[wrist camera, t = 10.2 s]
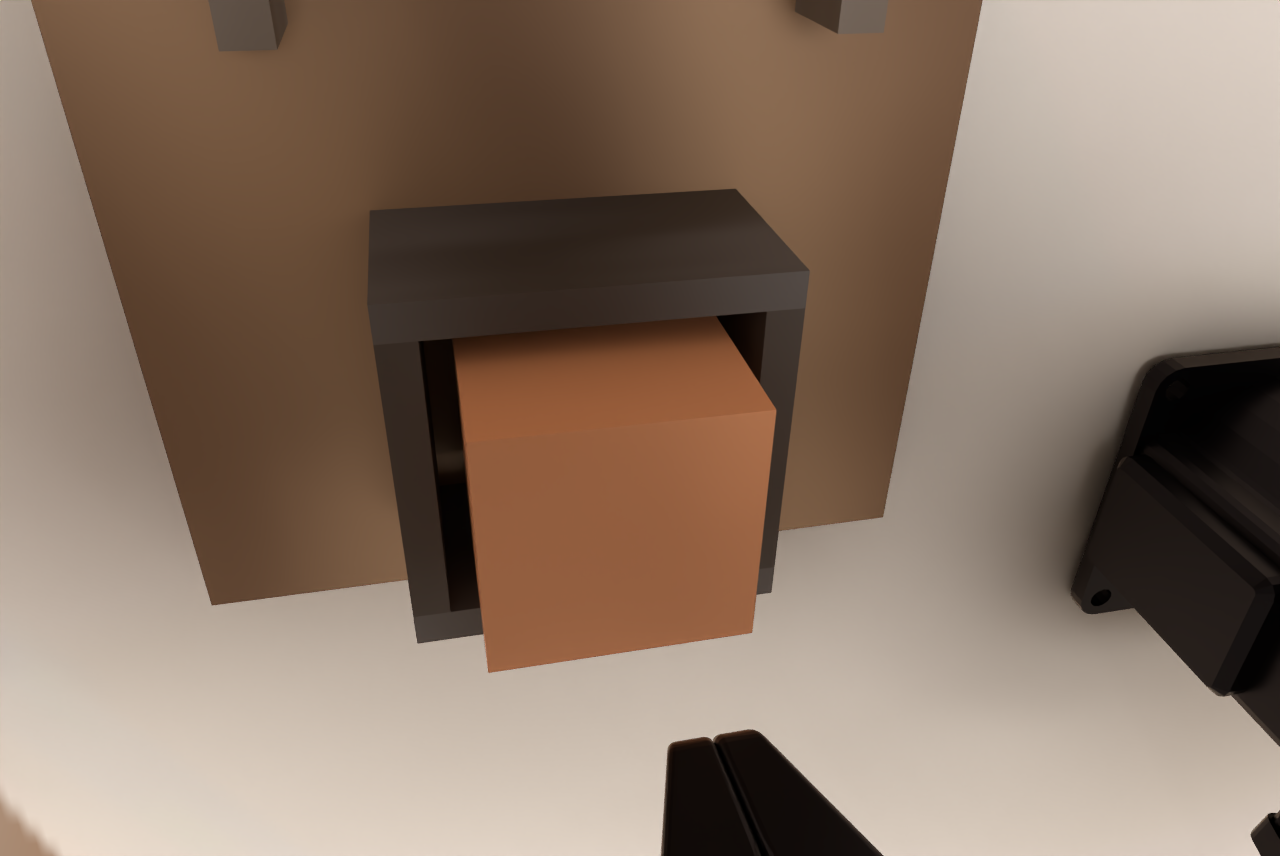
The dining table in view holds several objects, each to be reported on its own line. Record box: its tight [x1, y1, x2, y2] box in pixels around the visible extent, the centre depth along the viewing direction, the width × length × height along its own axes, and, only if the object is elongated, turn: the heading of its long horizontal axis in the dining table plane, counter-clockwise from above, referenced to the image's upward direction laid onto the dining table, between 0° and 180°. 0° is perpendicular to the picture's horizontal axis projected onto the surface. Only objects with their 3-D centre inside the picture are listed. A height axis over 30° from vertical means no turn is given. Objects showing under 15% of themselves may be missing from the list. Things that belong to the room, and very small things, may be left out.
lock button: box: [452, 316, 776, 673], centre depth 13 cm, size 3×3×3 cm
